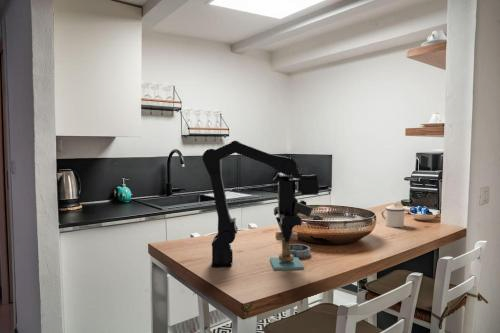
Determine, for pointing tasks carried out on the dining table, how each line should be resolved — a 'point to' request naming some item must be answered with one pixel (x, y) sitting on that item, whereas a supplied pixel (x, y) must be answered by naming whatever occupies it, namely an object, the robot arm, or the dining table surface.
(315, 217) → the lighter
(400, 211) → the teacup with lid
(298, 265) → the rubber mat
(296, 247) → the ring socket
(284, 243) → the t key
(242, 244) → the dining table surface
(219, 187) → the robot arm
